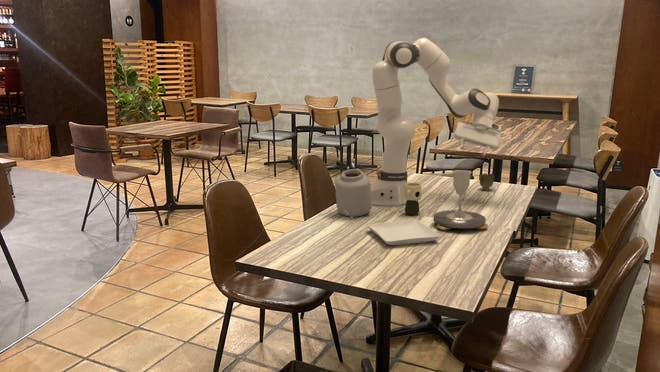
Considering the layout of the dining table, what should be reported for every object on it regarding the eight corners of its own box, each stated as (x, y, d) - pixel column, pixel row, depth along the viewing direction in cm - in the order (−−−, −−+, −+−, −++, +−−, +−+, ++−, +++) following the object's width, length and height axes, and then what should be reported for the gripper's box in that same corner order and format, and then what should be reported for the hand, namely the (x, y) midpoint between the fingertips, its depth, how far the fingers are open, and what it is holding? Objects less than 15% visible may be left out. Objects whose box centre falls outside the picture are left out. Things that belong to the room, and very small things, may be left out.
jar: (361, 222, 223) (362, 161, 217) (328, 218, 228) (327, 159, 223) (375, 210, 240) (376, 154, 234) (343, 207, 245) (344, 151, 240)
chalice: (467, 214, 221) (470, 170, 217) (470, 219, 214) (472, 173, 210) (449, 213, 222) (451, 169, 218) (450, 218, 215) (453, 173, 211)
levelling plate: (440, 234, 208) (441, 224, 208) (427, 218, 229) (427, 209, 228) (492, 233, 210) (493, 223, 209) (474, 217, 230) (475, 208, 229)
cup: (495, 192, 273) (496, 176, 272) (480, 191, 274) (481, 176, 272) (491, 188, 281) (492, 173, 279) (476, 188, 281) (477, 172, 279)
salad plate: (386, 249, 193) (386, 240, 192) (365, 231, 213) (366, 223, 212) (441, 244, 199) (441, 235, 198) (416, 227, 218) (416, 218, 218)
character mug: (414, 218, 229) (415, 187, 226) (398, 215, 233) (399, 185, 230) (424, 212, 238) (425, 182, 235) (409, 209, 242) (410, 180, 239)
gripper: (459, 116, 247) (449, 141, 243) (505, 128, 242) (496, 154, 237) (458, 123, 253) (448, 148, 248) (503, 135, 247) (494, 161, 243)
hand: (472, 151), depth 243 cm, fingers open, 8 cm apart
